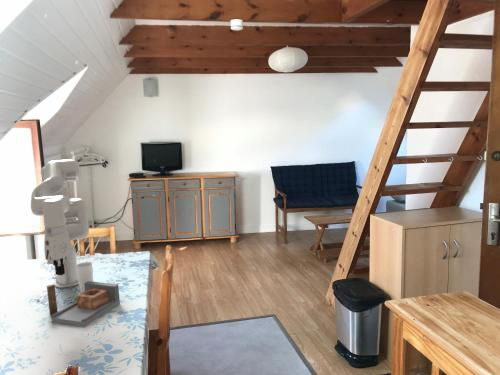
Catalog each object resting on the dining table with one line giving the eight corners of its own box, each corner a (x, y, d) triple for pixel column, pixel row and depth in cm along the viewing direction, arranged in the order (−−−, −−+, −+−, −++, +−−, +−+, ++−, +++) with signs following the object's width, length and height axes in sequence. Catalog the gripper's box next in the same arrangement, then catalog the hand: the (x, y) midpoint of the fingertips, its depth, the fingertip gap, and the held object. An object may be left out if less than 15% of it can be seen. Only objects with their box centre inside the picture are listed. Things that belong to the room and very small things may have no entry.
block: (77, 307, 173) (76, 295, 173) (92, 298, 182) (91, 287, 181) (95, 309, 170) (93, 297, 170) (109, 300, 179) (108, 289, 178)
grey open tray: (52, 322, 165) (49, 300, 164) (90, 300, 186) (88, 281, 184) (84, 327, 160) (82, 305, 159) (119, 304, 180) (118, 284, 179)
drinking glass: (89, 299, 187) (86, 267, 185) (76, 298, 188) (72, 266, 186) (97, 293, 194) (95, 262, 192) (84, 292, 195) (81, 262, 193)
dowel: (48, 314, 173) (45, 286, 171) (53, 311, 175) (50, 284, 174) (53, 315, 172) (50, 287, 170) (59, 312, 174) (56, 284, 173)
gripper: (48, 235, 155) (53, 282, 158) (76, 225, 170) (80, 268, 172) (33, 234, 158) (38, 280, 161) (61, 225, 172) (66, 267, 175)
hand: (60, 274), depth 166 cm, fingers closed
